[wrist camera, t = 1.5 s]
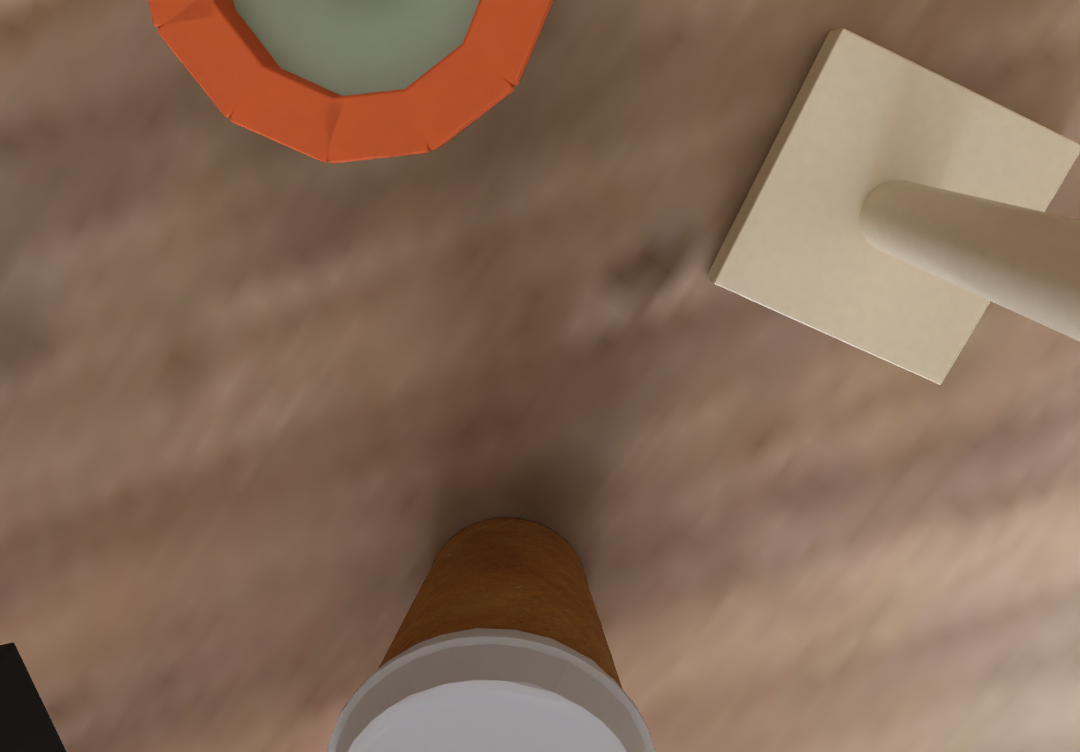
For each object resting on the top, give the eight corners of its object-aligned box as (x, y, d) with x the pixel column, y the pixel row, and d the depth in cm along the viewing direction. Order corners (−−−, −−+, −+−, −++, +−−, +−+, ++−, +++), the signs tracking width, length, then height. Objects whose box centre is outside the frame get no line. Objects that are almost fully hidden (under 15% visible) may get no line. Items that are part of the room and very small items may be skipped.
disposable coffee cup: (346, 619, 37) (254, 854, 25) (468, 434, 35) (428, 601, 23) (543, 728, 38) (541, 997, 27) (674, 556, 36) (733, 771, 24)
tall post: (706, 275, 33) (836, 421, 18) (829, 30, 30) (1098, -36, 15) (924, 373, 34) (1220, 589, 19) (1060, 143, 31) (1522, 183, 16)
